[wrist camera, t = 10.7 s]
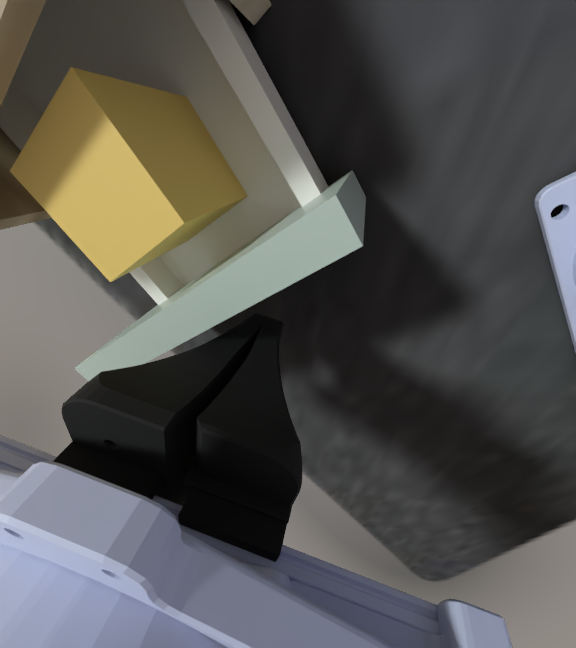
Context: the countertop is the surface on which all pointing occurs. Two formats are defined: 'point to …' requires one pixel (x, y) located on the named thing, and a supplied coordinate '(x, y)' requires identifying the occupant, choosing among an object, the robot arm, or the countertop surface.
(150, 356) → the pale green drawer
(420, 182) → the countertop surface
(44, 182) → the block
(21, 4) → the beige wooden rectangular box
